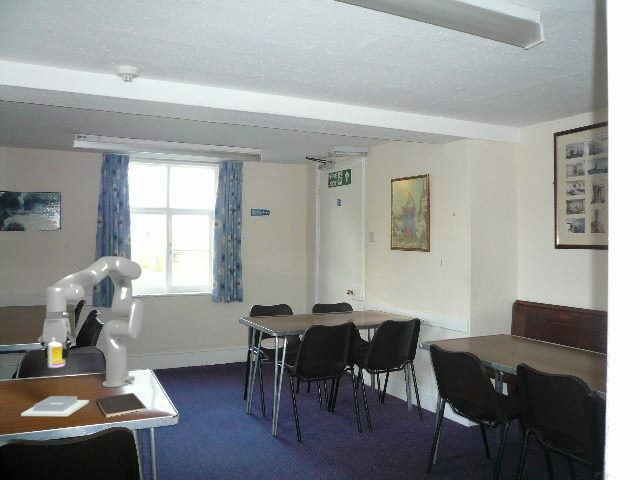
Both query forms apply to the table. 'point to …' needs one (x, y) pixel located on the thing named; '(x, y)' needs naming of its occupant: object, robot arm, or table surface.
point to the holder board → (56, 406)
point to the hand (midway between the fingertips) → (56, 357)
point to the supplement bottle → (55, 354)
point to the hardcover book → (120, 404)
